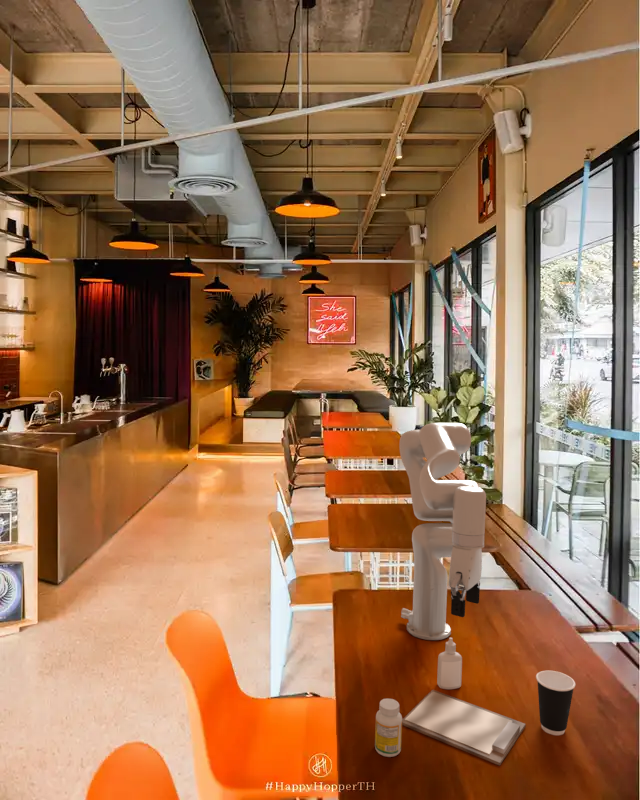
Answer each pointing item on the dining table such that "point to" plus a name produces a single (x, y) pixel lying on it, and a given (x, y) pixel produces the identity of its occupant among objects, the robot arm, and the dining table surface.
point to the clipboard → (465, 726)
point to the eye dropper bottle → (449, 667)
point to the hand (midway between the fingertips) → (465, 608)
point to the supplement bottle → (388, 728)
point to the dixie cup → (554, 700)
